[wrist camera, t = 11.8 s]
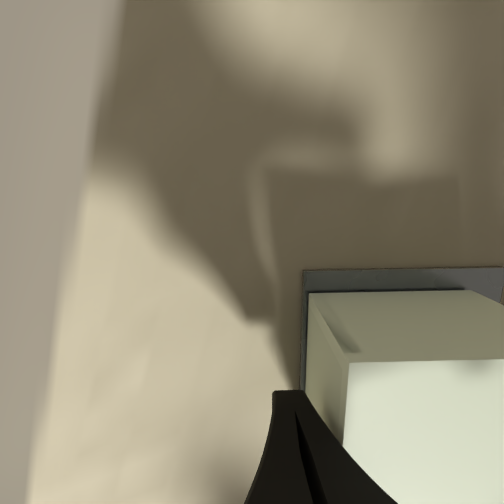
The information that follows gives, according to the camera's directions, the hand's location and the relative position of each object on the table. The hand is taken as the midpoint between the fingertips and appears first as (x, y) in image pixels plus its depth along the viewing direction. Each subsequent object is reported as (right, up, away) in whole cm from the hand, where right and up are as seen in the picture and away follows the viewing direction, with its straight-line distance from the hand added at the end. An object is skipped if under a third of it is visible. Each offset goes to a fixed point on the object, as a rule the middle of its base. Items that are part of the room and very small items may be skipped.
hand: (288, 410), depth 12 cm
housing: (+5, +1, +3) cm, 6 cm away
